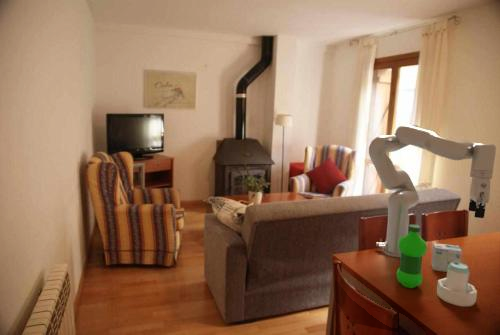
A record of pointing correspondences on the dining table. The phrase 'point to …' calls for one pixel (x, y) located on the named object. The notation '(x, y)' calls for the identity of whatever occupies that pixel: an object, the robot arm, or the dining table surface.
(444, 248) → the light bulb box
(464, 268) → the can
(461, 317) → the dining table surface
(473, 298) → the white octagonal bowl
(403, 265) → the plastic bottle
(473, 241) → the dining table surface
